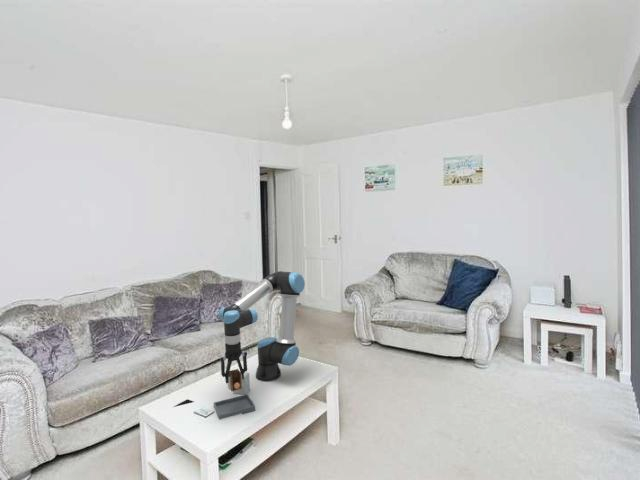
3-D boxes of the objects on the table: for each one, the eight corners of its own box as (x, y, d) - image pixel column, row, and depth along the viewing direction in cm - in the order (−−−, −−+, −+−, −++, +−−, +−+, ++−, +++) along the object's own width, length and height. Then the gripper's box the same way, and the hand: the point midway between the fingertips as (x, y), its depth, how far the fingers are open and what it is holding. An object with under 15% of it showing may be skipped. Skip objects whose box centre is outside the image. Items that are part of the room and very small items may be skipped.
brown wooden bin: (238, 384, 187) (237, 368, 187) (242, 388, 182) (241, 373, 181) (228, 386, 185) (227, 371, 184) (231, 391, 180) (230, 375, 179)
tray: (247, 398, 197) (247, 394, 196) (255, 410, 184) (255, 405, 184) (213, 407, 188) (213, 402, 188) (219, 420, 176) (219, 415, 176)
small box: (250, 390, 206) (249, 372, 205) (245, 395, 200) (244, 376, 200) (237, 389, 208) (236, 371, 207) (232, 393, 202) (231, 375, 202)
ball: (239, 380, 183) (241, 385, 180) (237, 384, 184) (239, 389, 182) (233, 381, 181) (235, 386, 179) (232, 385, 182) (234, 390, 180)
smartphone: (196, 403, 193) (196, 402, 193) (169, 419, 179) (169, 417, 179) (187, 400, 197) (187, 398, 197) (160, 415, 183) (159, 413, 183)
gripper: (248, 336, 189) (250, 379, 191) (212, 343, 181) (215, 388, 183) (252, 340, 183) (255, 385, 185) (216, 348, 174) (218, 395, 176)
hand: (235, 387), depth 184 cm, fingers closed on brown wooden bin, 5 cm apart
